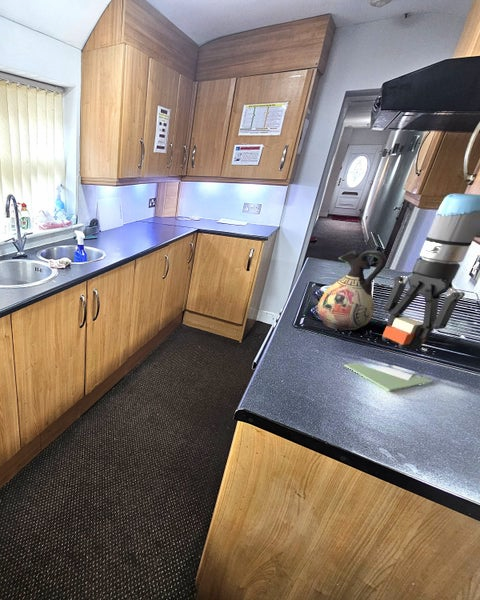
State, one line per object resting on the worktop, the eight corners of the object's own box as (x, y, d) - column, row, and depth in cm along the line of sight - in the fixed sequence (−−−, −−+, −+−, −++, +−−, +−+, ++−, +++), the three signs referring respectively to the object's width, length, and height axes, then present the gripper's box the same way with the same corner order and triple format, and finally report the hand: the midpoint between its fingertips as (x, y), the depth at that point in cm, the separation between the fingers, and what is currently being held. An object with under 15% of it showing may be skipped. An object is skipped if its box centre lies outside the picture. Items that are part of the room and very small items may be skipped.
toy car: (400, 349, 86) (411, 326, 83) (380, 340, 90) (389, 318, 87) (422, 346, 88) (433, 323, 85) (401, 337, 92) (411, 315, 89)
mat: (384, 359, 100) (385, 357, 99) (432, 383, 89) (433, 381, 89) (343, 366, 96) (344, 364, 96) (388, 391, 85) (389, 389, 85)
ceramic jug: (304, 325, 121) (328, 246, 109) (323, 315, 128) (348, 240, 116) (359, 345, 108) (394, 258, 96) (377, 332, 115) (411, 250, 103)
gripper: (387, 251, 87) (357, 329, 96) (478, 271, 71) (431, 362, 80) (408, 250, 89) (376, 326, 98) (500, 269, 73) (452, 359, 82)
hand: (401, 342), depth 89 cm, fingers closed on toy car, 5 cm apart
